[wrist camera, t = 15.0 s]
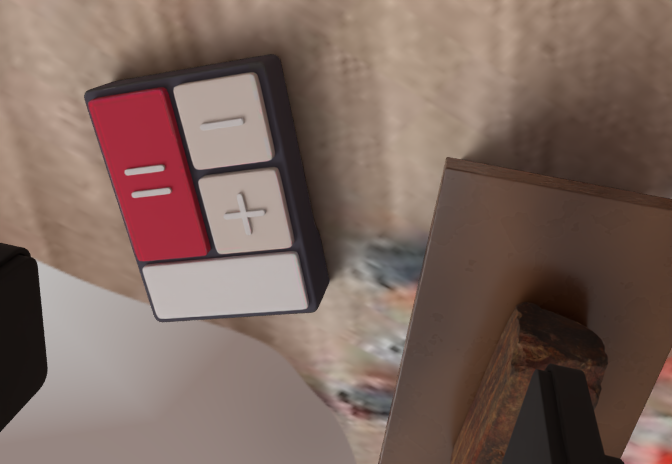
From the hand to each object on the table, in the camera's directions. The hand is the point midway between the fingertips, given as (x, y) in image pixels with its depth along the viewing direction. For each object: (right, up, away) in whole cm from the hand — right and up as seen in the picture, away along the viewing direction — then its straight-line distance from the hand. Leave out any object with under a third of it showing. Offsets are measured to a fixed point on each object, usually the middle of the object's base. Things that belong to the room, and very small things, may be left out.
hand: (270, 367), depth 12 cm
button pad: (-6, +5, +29) cm, 30 cm away
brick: (+10, -5, +21) cm, 24 cm away
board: (+11, -5, +22) cm, 25 cm away
